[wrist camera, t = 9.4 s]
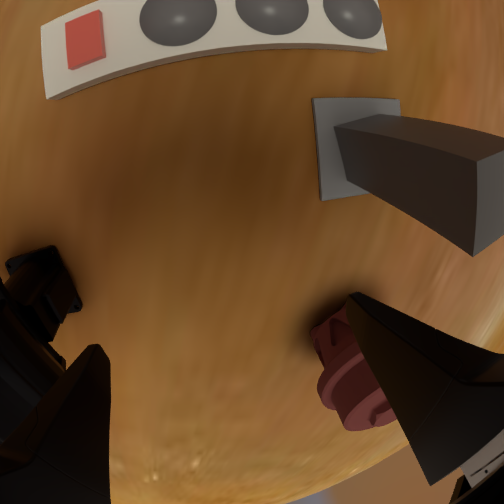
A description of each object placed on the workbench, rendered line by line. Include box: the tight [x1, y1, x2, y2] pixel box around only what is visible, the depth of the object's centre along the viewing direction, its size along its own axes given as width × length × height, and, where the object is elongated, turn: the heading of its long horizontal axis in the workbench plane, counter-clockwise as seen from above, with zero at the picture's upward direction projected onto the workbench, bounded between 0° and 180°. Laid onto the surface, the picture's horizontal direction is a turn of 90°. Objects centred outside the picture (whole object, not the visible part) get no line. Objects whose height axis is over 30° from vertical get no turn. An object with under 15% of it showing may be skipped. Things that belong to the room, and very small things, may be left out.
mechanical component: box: [310, 303, 397, 431], centre depth 24 cm, size 12×10×10 cm
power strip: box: [41, 0, 387, 100], centre depth 13 cm, size 24×6×3 cm, turn 98°
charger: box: [333, 114, 504, 257], centre depth 15 cm, size 5×4×13 cm
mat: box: [312, 98, 401, 201], centre depth 20 cm, size 8×8×1 cm
